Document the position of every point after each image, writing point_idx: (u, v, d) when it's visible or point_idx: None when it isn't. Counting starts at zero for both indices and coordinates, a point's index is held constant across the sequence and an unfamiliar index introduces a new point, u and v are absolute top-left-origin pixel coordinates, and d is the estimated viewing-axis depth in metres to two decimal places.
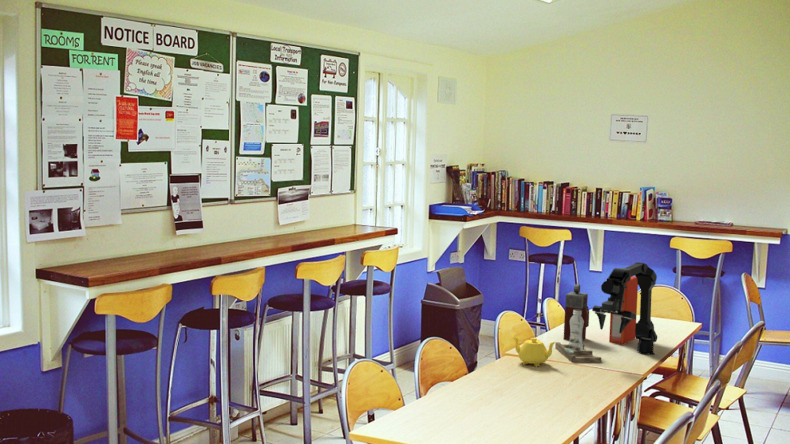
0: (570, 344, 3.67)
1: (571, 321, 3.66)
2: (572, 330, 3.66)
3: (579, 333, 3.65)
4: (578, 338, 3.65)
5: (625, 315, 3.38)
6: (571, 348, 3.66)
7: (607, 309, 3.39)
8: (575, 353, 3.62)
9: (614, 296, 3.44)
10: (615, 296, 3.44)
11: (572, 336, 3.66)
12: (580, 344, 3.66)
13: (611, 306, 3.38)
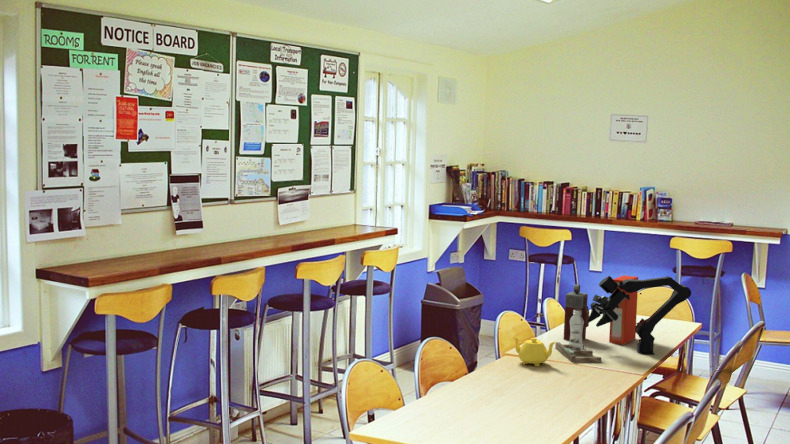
0: (570, 344, 3.67)
1: (571, 321, 3.66)
2: (572, 330, 3.66)
3: (579, 333, 3.65)
4: (578, 338, 3.65)
5: (606, 310, 3.61)
6: (571, 348, 3.66)
7: (595, 299, 3.66)
8: (575, 353, 3.62)
9: (610, 296, 3.68)
10: (611, 296, 3.68)
11: (572, 336, 3.66)
12: (580, 344, 3.66)
13: (598, 297, 3.65)
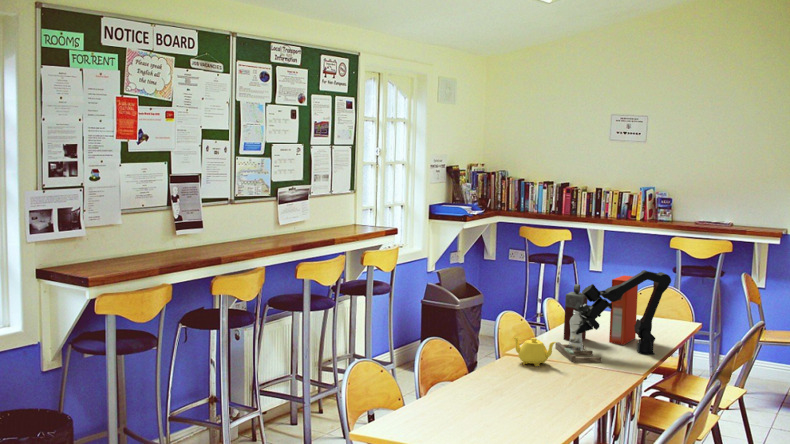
0: (570, 344, 3.67)
1: (571, 321, 3.66)
2: (572, 330, 3.66)
3: None
4: (578, 338, 3.65)
5: (587, 319, 3.60)
6: (571, 348, 3.66)
7: (577, 307, 3.66)
8: (575, 353, 3.62)
9: (593, 305, 3.67)
10: (593, 305, 3.67)
11: (572, 336, 3.66)
12: (580, 344, 3.66)
13: (580, 305, 3.64)
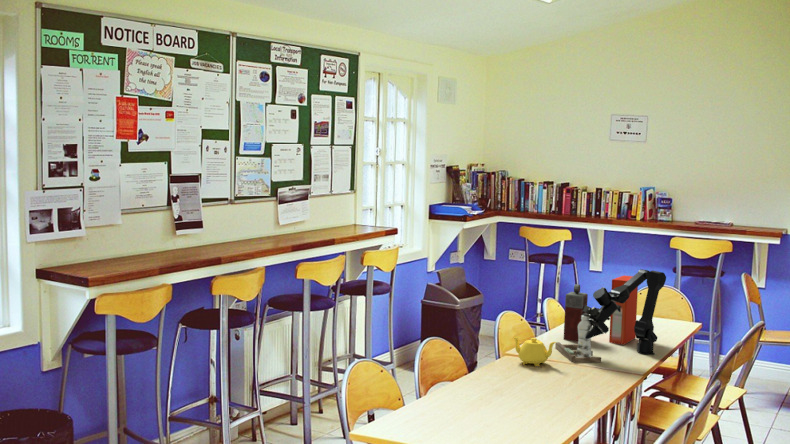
0: (578, 350, 3.56)
1: (579, 327, 3.54)
2: (580, 336, 3.54)
3: (588, 339, 3.54)
4: (586, 344, 3.54)
5: (596, 322, 3.49)
6: (579, 354, 3.55)
7: (585, 310, 3.54)
8: (575, 353, 3.62)
9: (601, 308, 3.56)
10: (602, 308, 3.56)
11: (580, 342, 3.55)
12: (589, 350, 3.54)
13: (589, 308, 3.52)
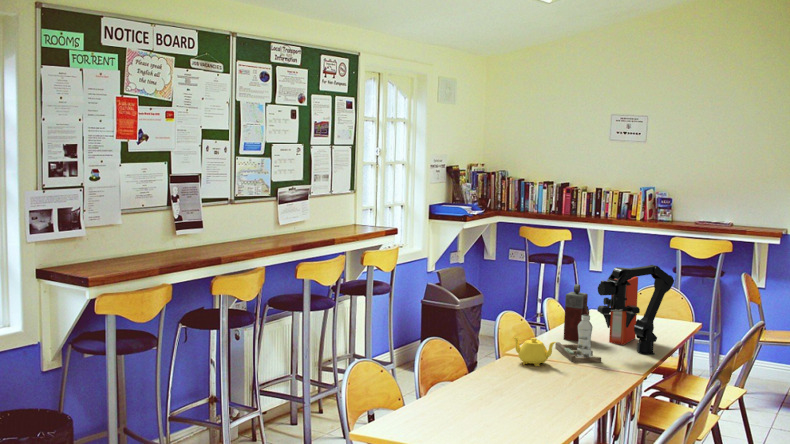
0: (578, 350, 3.56)
1: (579, 326, 3.54)
2: (580, 336, 3.55)
3: (588, 339, 3.54)
4: (586, 344, 3.54)
5: None
6: (579, 354, 3.55)
7: None
8: (575, 353, 3.62)
9: None
10: None
11: (580, 342, 3.55)
12: (589, 350, 3.54)
13: None
